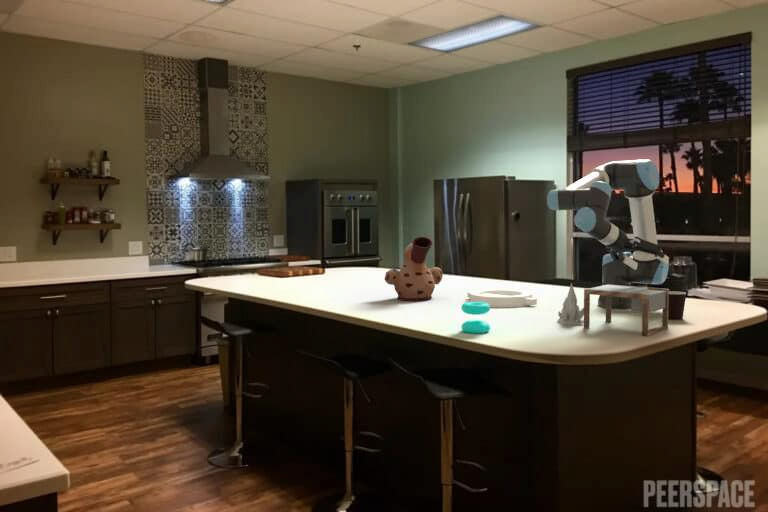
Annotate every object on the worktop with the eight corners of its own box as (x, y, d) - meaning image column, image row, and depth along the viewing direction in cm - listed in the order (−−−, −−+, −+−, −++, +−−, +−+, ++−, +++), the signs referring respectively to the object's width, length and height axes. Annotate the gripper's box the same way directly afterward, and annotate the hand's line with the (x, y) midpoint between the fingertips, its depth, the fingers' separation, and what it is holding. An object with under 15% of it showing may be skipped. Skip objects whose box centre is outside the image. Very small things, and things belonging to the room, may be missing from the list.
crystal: (579, 319, 252) (579, 280, 251) (588, 325, 239) (588, 284, 238) (553, 319, 253) (553, 280, 251) (560, 325, 239) (561, 284, 238)
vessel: (431, 294, 326) (430, 234, 324) (455, 300, 306) (454, 236, 304) (379, 298, 313) (378, 236, 311) (400, 304, 294) (400, 238, 291)
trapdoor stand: (583, 328, 233) (584, 289, 232) (607, 321, 246) (607, 284, 245) (646, 336, 217) (647, 294, 216) (668, 328, 231) (668, 289, 230)
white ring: (538, 307, 283) (538, 296, 282) (473, 308, 283) (473, 297, 283) (525, 298, 311) (525, 288, 310) (466, 299, 311) (466, 289, 311)
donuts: (480, 300, 236) (495, 304, 226) (480, 327, 236) (495, 332, 227) (456, 302, 232) (470, 306, 222) (456, 330, 232) (470, 335, 223)
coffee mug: (684, 321, 244) (684, 294, 243) (659, 319, 249) (659, 293, 248) (688, 316, 254) (688, 291, 253) (664, 314, 258) (665, 289, 258)
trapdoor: (587, 306, 234) (587, 288, 233) (606, 302, 244) (606, 284, 244) (648, 313, 218) (648, 293, 218) (665, 307, 229) (666, 288, 228)
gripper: (582, 251, 238) (622, 277, 246) (638, 239, 217) (679, 267, 225) (587, 234, 241) (626, 260, 249) (642, 220, 220) (683, 248, 227)
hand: (651, 263), depth 237 cm, fingers open, 13 cm apart
